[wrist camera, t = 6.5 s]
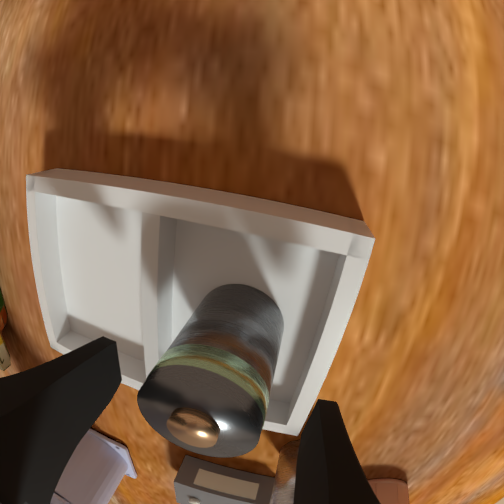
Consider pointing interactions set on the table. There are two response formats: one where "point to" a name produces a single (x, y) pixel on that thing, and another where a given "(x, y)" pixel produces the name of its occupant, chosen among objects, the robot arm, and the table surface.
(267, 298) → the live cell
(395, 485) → the pink bowl
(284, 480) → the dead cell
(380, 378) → the table surface
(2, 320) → the puzzle game
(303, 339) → the tray
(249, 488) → the grey box with knobs
